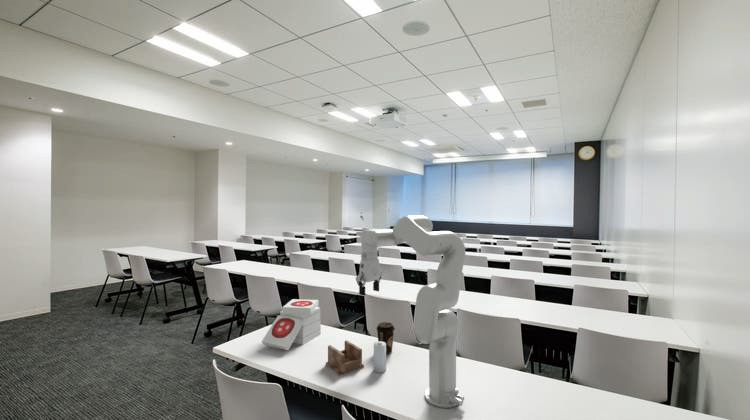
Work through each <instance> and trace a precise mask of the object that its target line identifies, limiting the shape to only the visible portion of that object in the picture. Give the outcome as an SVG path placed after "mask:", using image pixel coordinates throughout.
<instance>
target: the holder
mask: <svg viewBox="0 0 750 420" xmlns="http://www.w3.org/2000/svg"><path fill="white" fill-rule="evenodd" d="M325 365H326V366H327V367H328V368H329V369H331V370H332V371H333V372H335V374H336V375H338V376H339V377H341V376H343V375H347V374H350V373H351V372H355V371H357V370H360V369H362V368H363V369H364V367H365V364H364V363H363V349H362V348H361V347H359V346H358V345H356V344H354V343H353V342H351V341H349V340H345V341H344V349H342V350H338V349H337V348H336V347H334V346H332V345H331V344H329V345H328V346H327V361H326V362H325Z"/></svg>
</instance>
